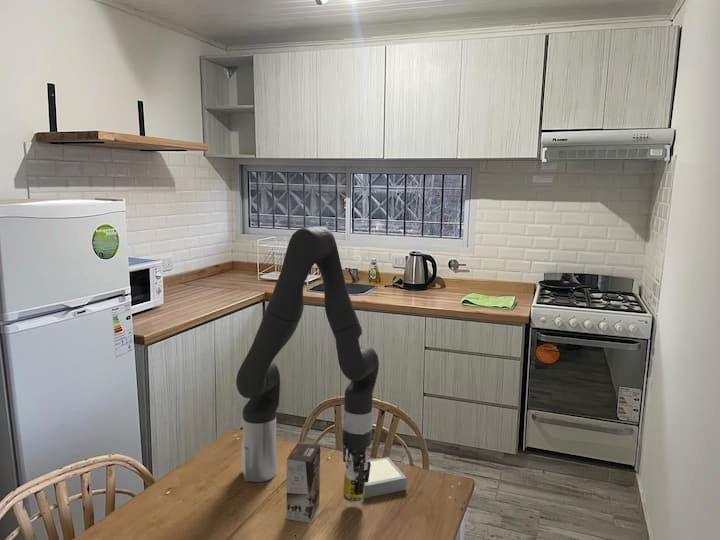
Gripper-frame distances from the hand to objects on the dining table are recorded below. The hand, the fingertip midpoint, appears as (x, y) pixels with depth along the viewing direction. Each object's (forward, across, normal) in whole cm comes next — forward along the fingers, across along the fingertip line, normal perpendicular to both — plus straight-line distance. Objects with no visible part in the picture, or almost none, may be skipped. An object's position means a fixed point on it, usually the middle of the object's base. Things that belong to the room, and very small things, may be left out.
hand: (354, 487), depth 138 cm
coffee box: (+6, -3, -13) cm, 14 cm away
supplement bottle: (+3, 0, 0) cm, 3 cm away
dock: (+5, -8, +10) cm, 15 cm away
